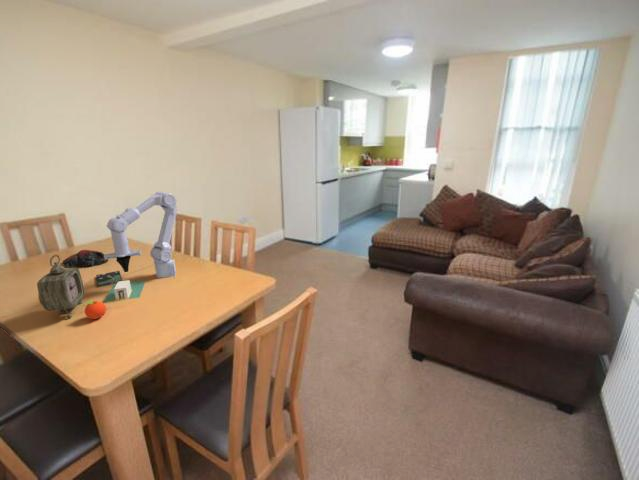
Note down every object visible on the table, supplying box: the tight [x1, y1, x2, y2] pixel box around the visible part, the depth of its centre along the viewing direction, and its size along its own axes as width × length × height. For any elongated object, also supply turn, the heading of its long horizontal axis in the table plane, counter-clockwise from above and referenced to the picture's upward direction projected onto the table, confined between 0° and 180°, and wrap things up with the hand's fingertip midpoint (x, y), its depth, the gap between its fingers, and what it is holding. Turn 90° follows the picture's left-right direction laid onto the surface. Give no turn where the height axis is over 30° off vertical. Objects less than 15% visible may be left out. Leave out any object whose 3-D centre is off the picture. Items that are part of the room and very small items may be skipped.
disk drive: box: [95, 270, 123, 288], centre depth 157 cm, size 10×3×15 cm
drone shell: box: [62, 249, 109, 269], centre depth 181 cm, size 21×20×8 cm
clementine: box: [81, 300, 107, 320], centre depth 123 cm, size 8×7×7 cm
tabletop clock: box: [36, 254, 85, 319], centre depth 125 cm, size 14×9×25 cm, turn 17°
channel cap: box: [114, 279, 131, 300], centre depth 140 cm, size 5×8×5 cm, turn 21°
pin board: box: [102, 280, 146, 304], centre depth 145 cm, size 14×19×4 cm
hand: (126, 271), depth 147 cm, fingers closed
